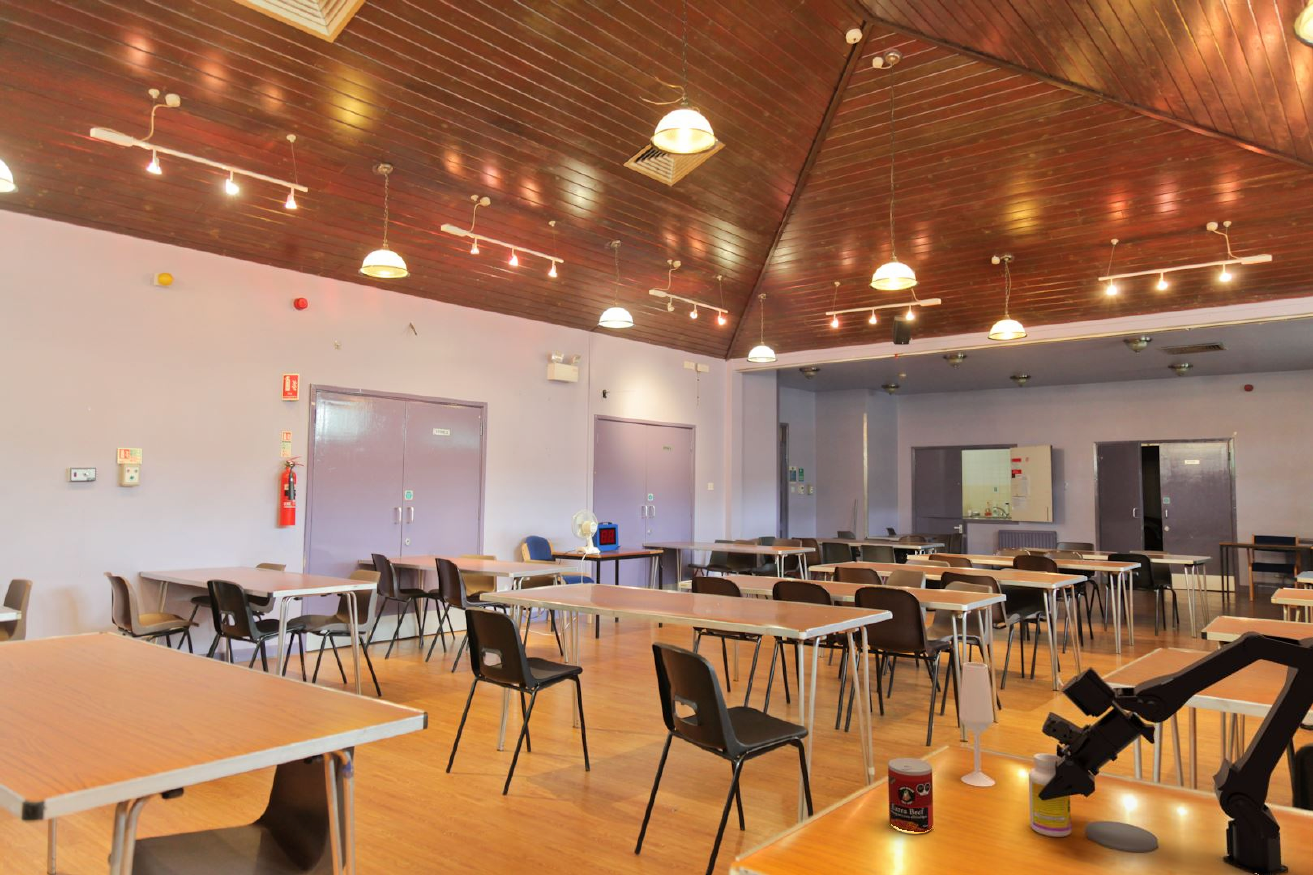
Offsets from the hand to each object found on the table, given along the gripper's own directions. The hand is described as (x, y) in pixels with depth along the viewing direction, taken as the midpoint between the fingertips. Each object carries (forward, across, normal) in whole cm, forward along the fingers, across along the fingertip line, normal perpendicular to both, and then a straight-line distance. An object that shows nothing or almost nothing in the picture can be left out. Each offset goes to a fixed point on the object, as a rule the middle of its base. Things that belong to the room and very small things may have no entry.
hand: (1040, 791), depth 148 cm
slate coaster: (-4, -2, +14) cm, 14 cm away
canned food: (+20, +9, -10) cm, 24 cm away
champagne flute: (+14, -21, -4) cm, 25 cm away
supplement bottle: (+4, 0, +6) cm, 7 cm away
